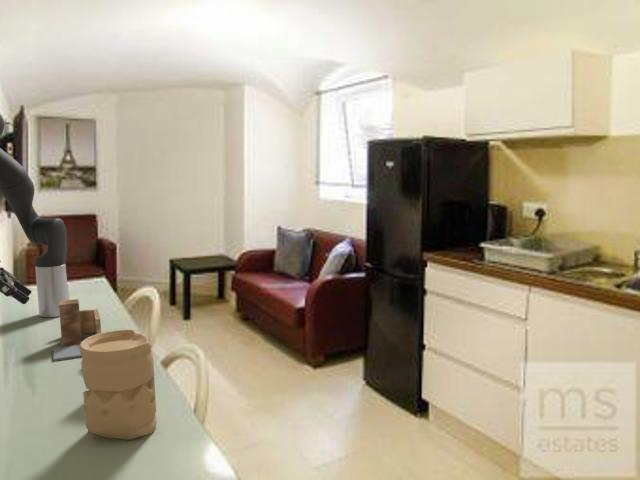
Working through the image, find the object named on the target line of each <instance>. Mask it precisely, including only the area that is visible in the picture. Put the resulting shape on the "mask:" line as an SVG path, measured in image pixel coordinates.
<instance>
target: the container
mask: <svg viewBox="0 0 640 480" xmlns="http://www.w3.org/2000/svg"><path fill="white" fill-rule="evenodd" d="M79 345H80V353H81V355H82V357H81V358H82V359H81V362H80V363H81V365H80V366H81V374H82V378H83V379H82V380H83V382H84V385H85V388H86V389H87V390H85V391H84V392H83V393H82V394H83V408H84V421H85V422H84V423H85V428H86V429H87V433H88V434H91V435H96V436H101V437H102V438H109V439H110V438H111V439H121V440H128V441H129V440H130V441H131V440H135V439H136V438H140V437H143V436H149V435H150V434H153V433H155V431H156V428H157V415H156V413H157V403H156V402H157V401H156V381H155V363H154V355H153V352H152V345H151V343H150V340H149V337H147V336H146V335H144V333H137V332H136V331H135V330H134V329H130V328H129V329H126V328H125V329H116V330H109V331H104V332H101V333H99V334H93V335H91V336H88V337H86V338H84V339H83V340H82V342H81V343H80V344H79Z"/></svg>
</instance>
